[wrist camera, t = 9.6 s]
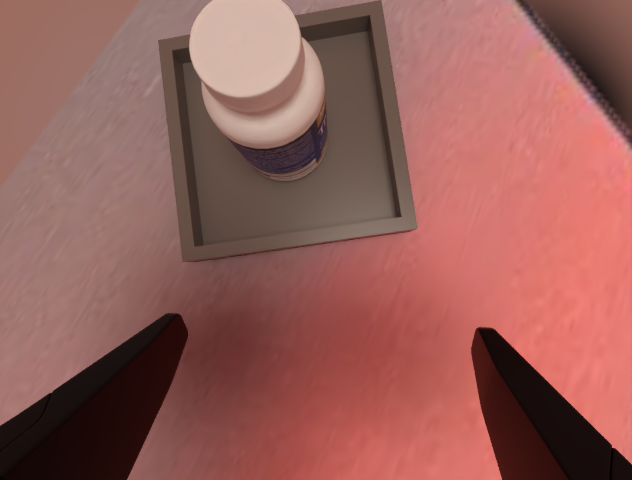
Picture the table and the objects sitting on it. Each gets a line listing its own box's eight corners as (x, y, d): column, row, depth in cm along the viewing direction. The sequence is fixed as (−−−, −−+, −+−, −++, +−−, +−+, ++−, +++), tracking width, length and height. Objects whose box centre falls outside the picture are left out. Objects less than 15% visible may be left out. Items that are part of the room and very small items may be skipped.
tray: (197, 261, 22) (182, 261, 20) (174, 59, 22) (158, 40, 20) (409, 231, 21) (417, 228, 19) (377, 23, 22) (381, 0, 20)
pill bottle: (341, 163, 21) (346, 79, 11) (263, 195, 21) (200, 141, 11) (309, 88, 21) (287, -58, 11) (233, 120, 21) (147, 4, 12)
